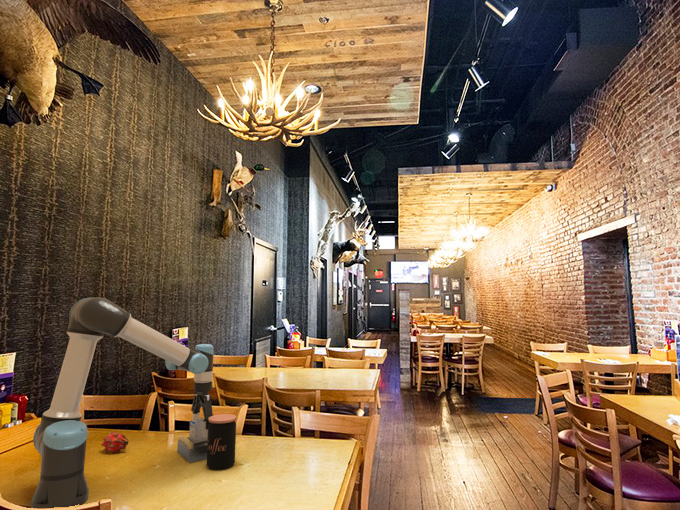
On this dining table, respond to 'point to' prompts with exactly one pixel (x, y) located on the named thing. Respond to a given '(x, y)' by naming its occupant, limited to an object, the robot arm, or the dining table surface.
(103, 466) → the dining table surface
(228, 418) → the coffee jar
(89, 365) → the robot arm
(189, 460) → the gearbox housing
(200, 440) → the medicine box
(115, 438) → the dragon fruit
